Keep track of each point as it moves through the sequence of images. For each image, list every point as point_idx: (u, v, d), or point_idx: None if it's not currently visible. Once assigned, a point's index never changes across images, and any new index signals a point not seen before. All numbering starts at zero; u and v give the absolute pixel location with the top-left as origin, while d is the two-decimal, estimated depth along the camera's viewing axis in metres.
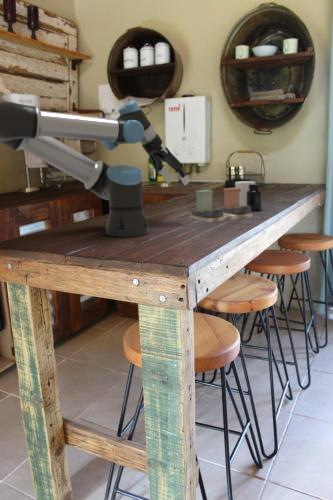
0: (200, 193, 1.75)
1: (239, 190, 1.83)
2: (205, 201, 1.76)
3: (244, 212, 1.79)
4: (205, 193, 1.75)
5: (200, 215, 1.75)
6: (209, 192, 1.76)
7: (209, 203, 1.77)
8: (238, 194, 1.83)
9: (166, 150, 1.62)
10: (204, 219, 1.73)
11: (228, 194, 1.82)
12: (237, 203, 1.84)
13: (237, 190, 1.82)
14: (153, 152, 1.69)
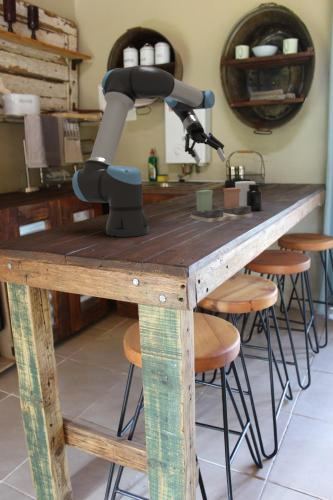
0: (200, 193, 1.75)
1: (239, 190, 1.83)
2: (205, 201, 1.76)
3: (244, 212, 1.79)
4: (205, 193, 1.75)
5: (200, 215, 1.75)
6: (209, 192, 1.76)
7: (209, 203, 1.77)
8: (238, 194, 1.83)
9: None
10: (204, 219, 1.73)
11: (228, 194, 1.82)
12: (237, 203, 1.84)
13: (237, 190, 1.82)
14: (196, 134, 1.99)
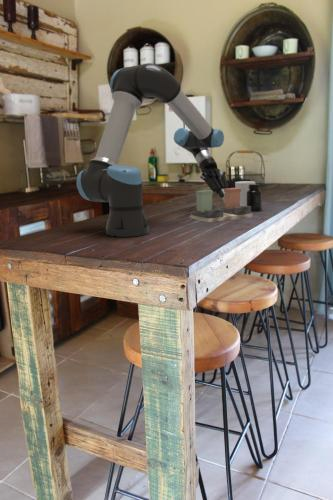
0: (200, 193, 1.75)
1: (239, 190, 1.83)
2: (205, 201, 1.76)
3: (244, 212, 1.79)
4: (205, 193, 1.75)
5: (200, 215, 1.75)
6: (209, 192, 1.76)
7: (209, 203, 1.77)
8: (238, 194, 1.83)
9: None
10: (204, 219, 1.73)
11: (228, 194, 1.82)
12: (237, 203, 1.84)
13: (237, 190, 1.82)
14: (207, 168, 1.95)
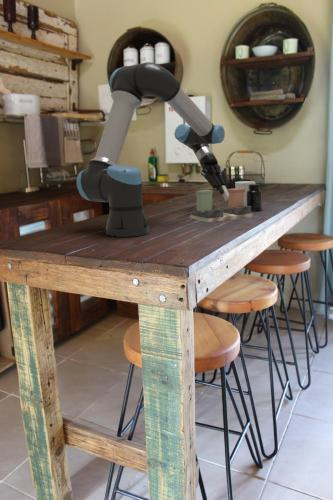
0: (200, 193, 1.75)
1: (244, 191, 1.80)
2: (205, 201, 1.76)
3: (244, 212, 1.79)
4: (205, 193, 1.75)
5: (200, 215, 1.75)
6: (209, 192, 1.76)
7: (209, 203, 1.77)
8: (242, 195, 1.81)
9: None
10: (204, 219, 1.73)
11: (232, 195, 1.80)
12: (241, 204, 1.81)
13: (242, 191, 1.80)
14: (208, 164, 1.94)
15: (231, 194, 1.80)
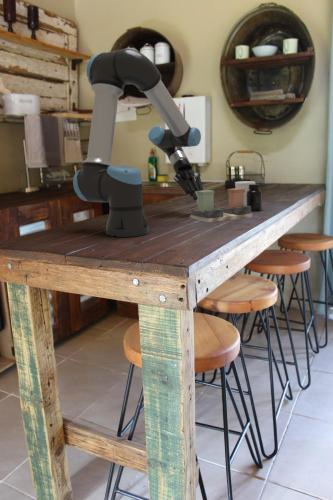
0: (201, 193, 1.74)
1: (244, 191, 1.80)
2: (207, 201, 1.75)
3: (244, 212, 1.79)
4: (206, 193, 1.74)
5: (200, 215, 1.75)
6: (210, 192, 1.75)
7: (210, 204, 1.76)
8: (242, 195, 1.81)
9: None
10: (204, 219, 1.73)
11: (232, 195, 1.80)
12: (241, 204, 1.81)
13: (242, 191, 1.80)
14: (181, 169, 1.88)
15: (231, 194, 1.80)
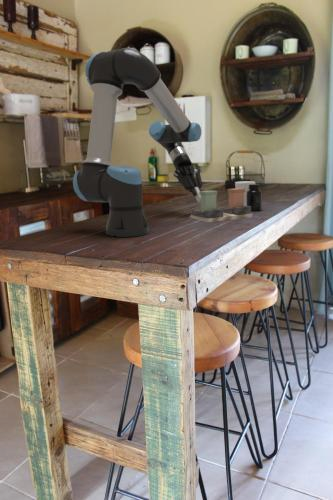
0: (204, 194, 1.72)
1: (244, 191, 1.80)
2: (210, 201, 1.74)
3: (244, 212, 1.79)
4: (209, 194, 1.73)
5: (200, 215, 1.75)
6: (213, 193, 1.73)
7: (213, 204, 1.75)
8: (242, 195, 1.81)
9: None
10: (204, 219, 1.73)
11: (232, 195, 1.80)
12: (241, 204, 1.81)
13: (242, 191, 1.80)
14: (181, 165, 1.88)
15: (231, 194, 1.80)
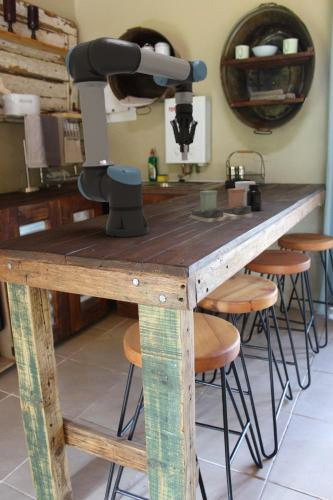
0: (204, 194, 1.72)
1: (244, 191, 1.80)
2: (210, 201, 1.74)
3: (244, 212, 1.79)
4: (209, 194, 1.73)
5: (200, 215, 1.75)
6: (213, 193, 1.73)
7: (213, 204, 1.75)
8: (242, 195, 1.81)
9: None
10: (204, 219, 1.73)
11: (232, 195, 1.80)
12: (241, 204, 1.81)
13: (242, 191, 1.80)
14: (181, 114, 1.84)
15: (231, 194, 1.80)
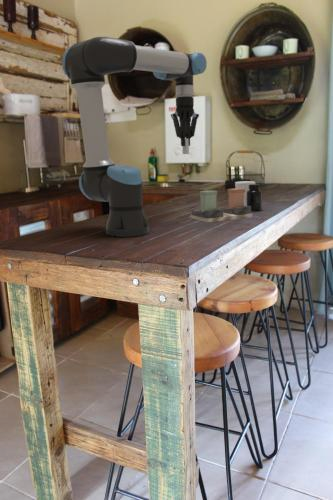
0: (204, 194, 1.72)
1: (244, 191, 1.80)
2: (210, 201, 1.74)
3: (244, 212, 1.79)
4: (209, 194, 1.73)
5: (200, 215, 1.75)
6: (213, 193, 1.73)
7: (213, 204, 1.75)
8: (242, 195, 1.81)
9: None
10: (204, 219, 1.73)
11: (232, 195, 1.80)
12: (241, 204, 1.81)
13: (242, 191, 1.80)
14: (182, 107, 1.82)
15: (231, 194, 1.80)
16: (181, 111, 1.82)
